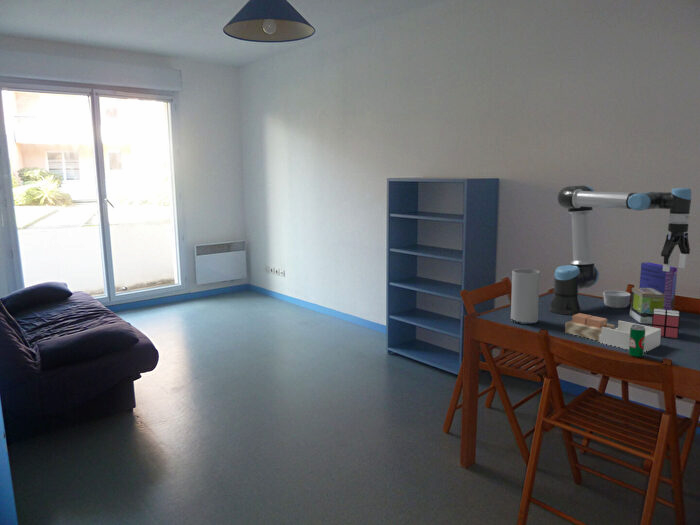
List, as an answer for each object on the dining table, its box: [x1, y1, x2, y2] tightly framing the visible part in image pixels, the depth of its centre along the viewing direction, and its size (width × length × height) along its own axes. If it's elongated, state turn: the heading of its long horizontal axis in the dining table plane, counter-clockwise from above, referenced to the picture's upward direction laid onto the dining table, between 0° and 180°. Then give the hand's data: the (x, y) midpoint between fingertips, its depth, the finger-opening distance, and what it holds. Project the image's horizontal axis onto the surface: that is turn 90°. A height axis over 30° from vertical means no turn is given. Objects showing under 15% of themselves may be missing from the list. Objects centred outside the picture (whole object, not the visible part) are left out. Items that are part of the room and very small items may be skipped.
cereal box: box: [638, 262, 678, 311], centre depth 258 cm, size 17×5×24 cm, turn 14°
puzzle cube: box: [651, 309, 681, 339], centre depth 222 cm, size 10×10×10 cm
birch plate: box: [564, 320, 616, 342], centre depth 224 cm, size 16×12×5 cm
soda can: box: [628, 324, 645, 358], centre depth 196 cm, size 5×5×12 cm
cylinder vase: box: [510, 268, 541, 323], centre depth 245 cm, size 12×12×25 cm
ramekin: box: [602, 290, 631, 309], centre depth 271 cm, size 13×13×7 cm
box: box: [598, 320, 662, 353], centre depth 210 cm, size 18×16×7 cm
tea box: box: [629, 287, 665, 325], centre depth 243 cm, size 15×10×15 cm
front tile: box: [586, 315, 608, 328], centre depth 221 cm, size 6×6×3 cm
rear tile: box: [572, 313, 593, 325], centre depth 226 cm, size 6×6×3 cm
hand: (674, 269), depth 229 cm, fingers open, 13 cm apart
